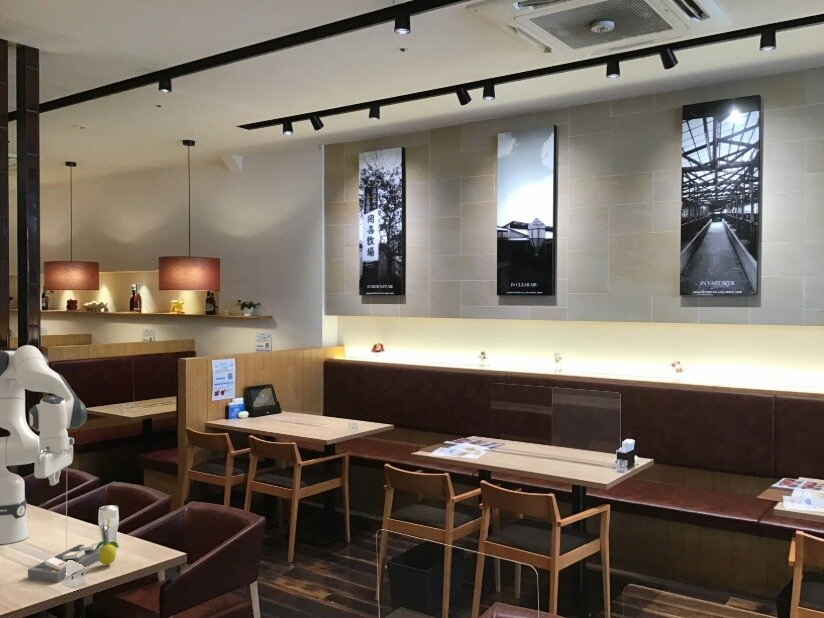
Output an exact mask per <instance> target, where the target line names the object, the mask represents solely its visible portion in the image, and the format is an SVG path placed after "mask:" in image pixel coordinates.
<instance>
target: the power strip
mask: <svg viewBox="0 0 824 618" xmlns="http://www.w3.org/2000/svg"><path fill="white" fill-rule="evenodd" d="M84 545H85V544H77V545H75V546H73V547H72V548H69V549H67V550H65V551H63V552H61V553H59V554H57V555H55V556H54V557H55V558H57V559H60V560H62V561H64V562H67V561H68V560H73V561H75V562H77V563H79V564H82V565H83V566H84V567H87V566H88V567H90V566H92V565H94V564H96V563H97V561H98V562H100V561H99V552H100V549H101V548H102V547H99V548H98V549H97V550H95V549H93V550H86V551H85V554H84V555H82V556H80V557H78V558H72V559H64V560H63V556H64V555H66V554H68V553H70V552H77V551H80V547H82V546H84ZM51 558H52V557H50V558H49V559H51ZM49 559H47V560H49ZM47 560H45V561H43V562H40V563H37V564H36V565H34V566H32V567H30V568H28V569H27V578H28V579H29V580H37V581H44V582H49V583H57V584H58V583H60V582H62V581H64V580H65V579H64V578H65V573H66V567H65V568H63V569H61V570H57V569H55V568H53V567H50V566H48V565H45V562H46V561H47ZM95 562H96V563H95ZM93 563H94V564H93ZM91 564H92V565H91ZM89 565H90V566H89ZM88 567H87V568H88Z"/></svg>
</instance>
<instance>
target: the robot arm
mask: <svg viewBox="0 0 824 618" xmlns="http://www.w3.org/2000/svg"><path fill="white" fill-rule="evenodd" d="M25 390H28V391H31V392H39V393H48V394H52V395H49V396H45V397H42V398H41V399H40V402H39V403H38V404H35V405H33V406H32V407H31V408H30V409H29V411H28V420H29V421H28V423H27V418H26V391H25ZM87 420H88V411H87V407H86V405H85V404H84V402H83V401H82V400H81V399H80V398H79V397H78V396H77V394H76V393H75V391H74V390H73V389H72V387H71V386H70V384H69V383H68V382H67V380H66V379H65V377H64V376H63V374H60V373H58V372H56V371H55V370H53V369H52V368H50V361H49V359H48V357H47V355H46V354H44V353H42V352H41V351H40V349H39V348H37V347H36V346H34V345H29V344H25V345H22V346H20V347H18V348H17V349H16V350H0V428H1V429H4V430H7V431H8V432H9V433H10V435H9V436H2V437H1V436H0V545H7V544H14V543H17V542H21V541H23V540H25V539H27V538H29V537H30V536H31V532H30V527H29V524H28V517H27V515H28V514H27V511H26V509H27V499H26V497H25V496H26V495H25V494H26V493H25V492H26V491H25V488H26V487H25V480H24V478H23V477H21V476H20V475H19V474H17V473H13V472H11V471H9V469H8V468H7V467H9V466H10V467H11V466H21V465H22V466H23V465H28V464H32V463H34V468H33V469H34V470H33V471H34V473H33V475H34V477H35V479H48V480H49V486H55V485H57V484H58V483H60V475H61V473H62V472H61V471H62V470H63V469H64V468H67V467H68V466H70V465H71V464H72V463H73V460H74V446H73V445H74V444H75V439H74V437H69V434H68V433H69V432H68V431H67V429H68V430H69V429H79V428H80V427H82V426H83V425H84V424H85V422H86V421H87ZM32 429H33V430H34V431H36V432H39V435H37V434H36V433H35V432H34V431H32Z"/></svg>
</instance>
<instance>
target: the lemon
mask: <svg viewBox="0 0 824 618" xmlns="http://www.w3.org/2000/svg"><path fill="white" fill-rule="evenodd" d="M104 542H105V541H101V540H100V541H99V542H98V543H99V544H98V545H97V547H96V549H95V550H97V549H98V548H99V547H100V546H101V545H102V544H103V543H104ZM109 543H110V544H108V537H107V544H106V545H104V546H103V547H102V548H101V549H100V552H99V561H98V562H100V563H101V564H102V565H105V566H107V565H108V566H109V565H110V564H112V563H114V561H115V560H116V556H117V550H116V549H119V544H118V542H117V543H116V542H114V541H113V542H109ZM112 545H113V546H112ZM114 547H117V548H116V549H115V548H114Z"/></svg>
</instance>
